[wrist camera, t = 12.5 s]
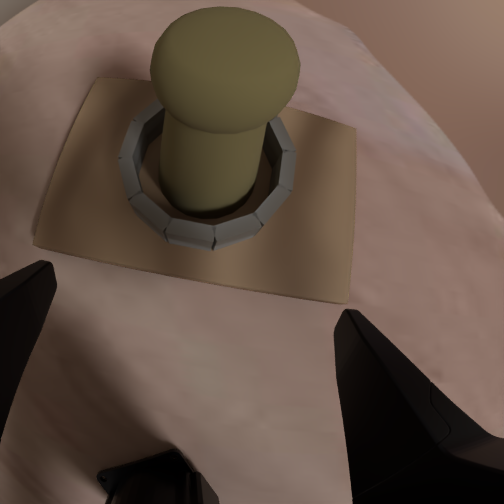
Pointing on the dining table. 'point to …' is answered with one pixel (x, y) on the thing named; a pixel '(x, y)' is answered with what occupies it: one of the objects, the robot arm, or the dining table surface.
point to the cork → (218, 104)
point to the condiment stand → (205, 230)
